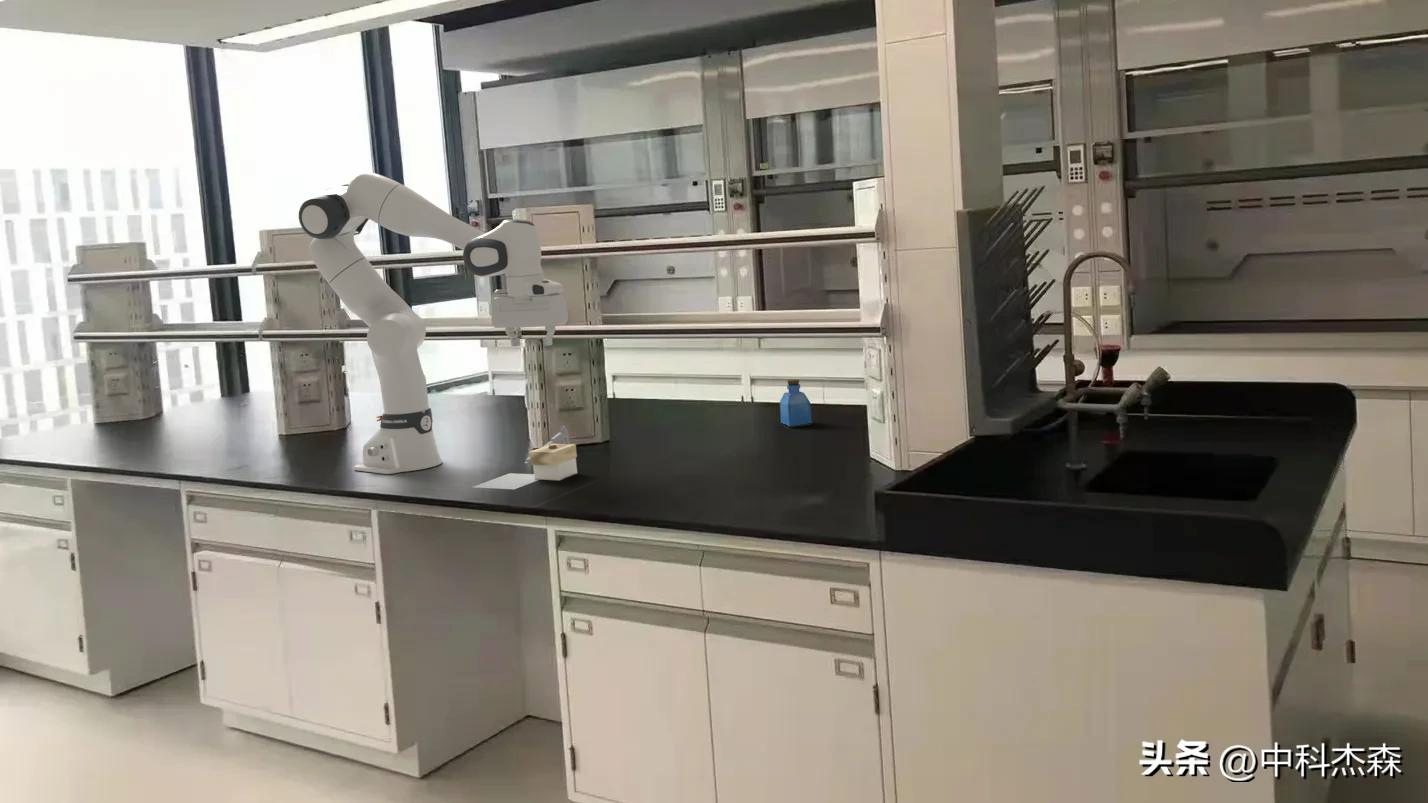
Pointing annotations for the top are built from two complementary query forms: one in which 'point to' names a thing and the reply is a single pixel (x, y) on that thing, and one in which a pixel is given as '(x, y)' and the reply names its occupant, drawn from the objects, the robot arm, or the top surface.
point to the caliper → (557, 439)
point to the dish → (555, 470)
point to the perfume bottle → (794, 405)
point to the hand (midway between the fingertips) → (531, 345)
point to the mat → (508, 481)
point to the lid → (553, 454)
